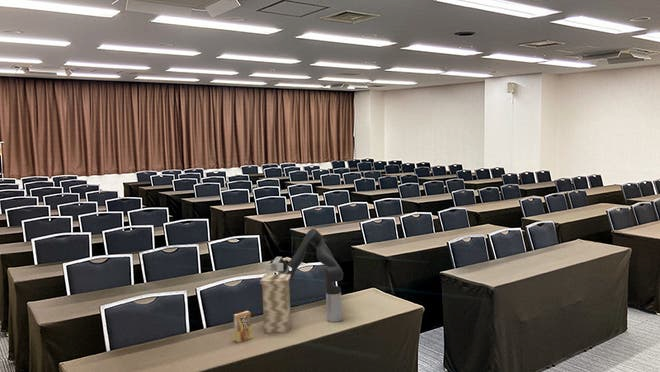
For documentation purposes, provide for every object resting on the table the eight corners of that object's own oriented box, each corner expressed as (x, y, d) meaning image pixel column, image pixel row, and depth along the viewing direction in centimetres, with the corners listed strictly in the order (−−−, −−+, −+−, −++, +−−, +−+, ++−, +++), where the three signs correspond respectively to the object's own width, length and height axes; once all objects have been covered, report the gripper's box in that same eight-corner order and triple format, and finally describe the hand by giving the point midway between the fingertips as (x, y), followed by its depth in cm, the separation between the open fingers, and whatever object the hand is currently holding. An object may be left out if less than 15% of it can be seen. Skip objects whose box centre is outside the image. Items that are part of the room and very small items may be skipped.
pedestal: (293, 324, 307) (290, 274, 304) (289, 332, 293) (287, 280, 291) (267, 324, 308) (264, 274, 306) (262, 333, 294) (259, 280, 292)
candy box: (248, 336, 290) (247, 310, 288) (252, 338, 286) (250, 312, 285) (234, 340, 284) (233, 314, 283) (238, 342, 281) (237, 316, 280)
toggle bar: (271, 263, 314) (271, 256, 314) (287, 262, 313) (287, 256, 313) (265, 271, 294) (265, 264, 294) (282, 271, 294) (282, 264, 293)
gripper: (271, 262, 325) (266, 254, 309) (293, 261, 324) (289, 253, 308) (270, 273, 321) (265, 266, 306) (292, 273, 320) (288, 265, 305)
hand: (277, 260), depth 307 cm, fingers closed on toggle bar, 3 cm apart
